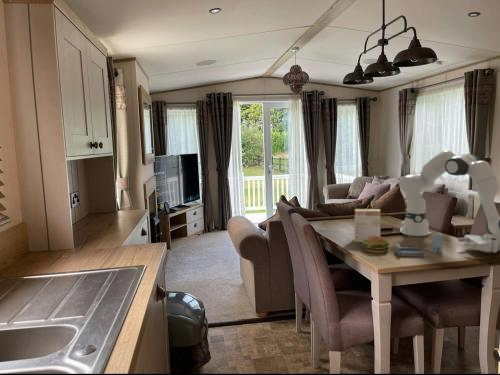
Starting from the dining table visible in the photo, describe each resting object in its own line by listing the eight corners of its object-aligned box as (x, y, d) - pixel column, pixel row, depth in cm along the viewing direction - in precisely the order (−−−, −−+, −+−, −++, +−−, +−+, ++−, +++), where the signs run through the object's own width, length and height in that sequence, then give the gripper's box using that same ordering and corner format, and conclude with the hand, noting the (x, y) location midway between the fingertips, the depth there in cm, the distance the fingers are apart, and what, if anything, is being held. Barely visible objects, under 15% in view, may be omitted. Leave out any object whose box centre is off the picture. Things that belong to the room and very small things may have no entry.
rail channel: (395, 251, 214) (395, 242, 214) (419, 252, 212) (419, 243, 212) (398, 256, 205) (398, 247, 204) (423, 257, 203) (424, 247, 202)
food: (358, 247, 224) (358, 234, 223) (382, 246, 225) (382, 233, 224) (368, 254, 210) (368, 240, 209) (393, 253, 211) (393, 239, 211)
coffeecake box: (379, 240, 239) (380, 208, 237) (380, 243, 233) (380, 211, 230) (354, 239, 243) (354, 208, 241) (354, 242, 237) (354, 210, 234)
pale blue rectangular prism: (432, 250, 214) (432, 233, 213) (439, 250, 213) (440, 233, 212) (434, 252, 210) (434, 234, 209) (442, 253, 210) (442, 234, 208)
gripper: (481, 232, 217) (454, 231, 219) (498, 241, 197) (468, 240, 199) (480, 243, 217) (454, 242, 220) (497, 253, 197) (468, 253, 200)
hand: (461, 242), depth 209 cm, fingers open, 8 cm apart
